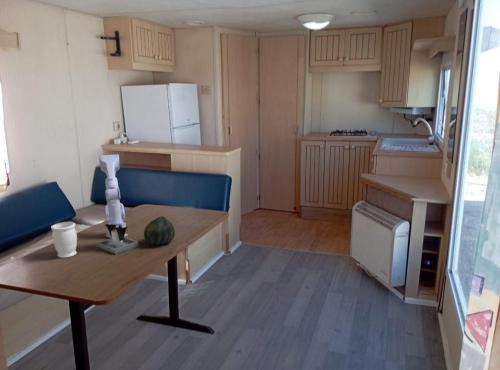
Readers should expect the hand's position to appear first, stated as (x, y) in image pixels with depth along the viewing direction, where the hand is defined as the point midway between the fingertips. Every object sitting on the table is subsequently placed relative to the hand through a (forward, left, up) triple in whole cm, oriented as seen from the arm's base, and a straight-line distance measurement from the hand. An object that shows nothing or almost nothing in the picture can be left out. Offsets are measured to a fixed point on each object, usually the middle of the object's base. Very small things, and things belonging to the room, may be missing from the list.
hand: (117, 238), depth 198 cm
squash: (+13, +16, -5) cm, 21 cm away
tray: (0, 0, -4) cm, 4 cm away
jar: (-11, -21, -5) cm, 24 cm away
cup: (0, 0, -4) cm, 4 cm away
